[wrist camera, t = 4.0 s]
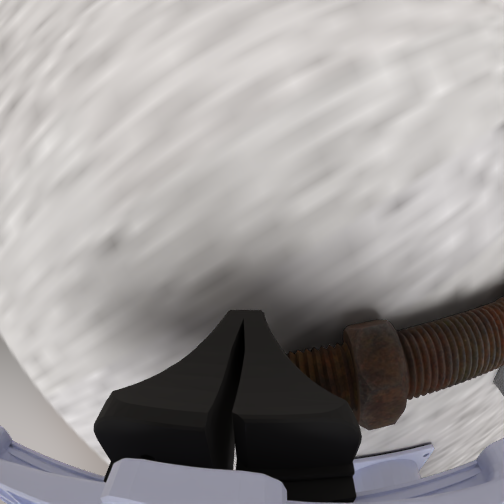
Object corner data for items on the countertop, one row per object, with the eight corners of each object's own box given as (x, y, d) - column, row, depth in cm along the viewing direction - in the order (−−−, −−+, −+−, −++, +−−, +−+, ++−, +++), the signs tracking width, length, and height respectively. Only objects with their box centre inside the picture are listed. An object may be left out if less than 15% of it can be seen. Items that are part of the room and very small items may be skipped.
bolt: (268, 328, 16) (510, 273, 14) (281, 418, 15) (517, 353, 13) (247, 342, 10) (571, 259, 8) (268, 471, 9) (577, 364, 7)
